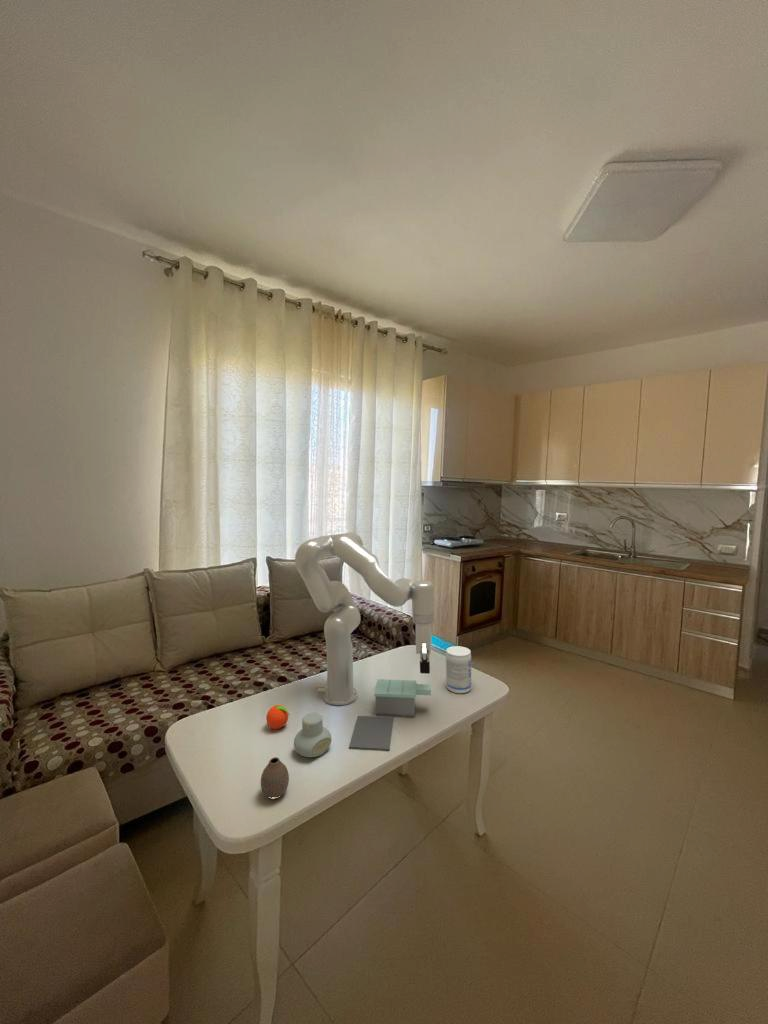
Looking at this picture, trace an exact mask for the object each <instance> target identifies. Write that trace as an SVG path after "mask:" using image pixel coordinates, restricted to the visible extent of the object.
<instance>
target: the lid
mask: <svg viewBox="0 0 768 1024" xmlns="http://www.w3.org/2000/svg"><path fill="white" fill-rule="evenodd" d="M375 684H376V685H375V688H374V692H373V697H376V696H377V697H401V698H415V699H416V698H417V696H432V694H431V693H432V692H431V691H432V690H431V689H432V688H431V686H432V685H431V684H429V683H427V684H426V683H424V684H423V683H417V680H409V679H387V678H386V679H385V678H384V679H382V678H377V680H376V683H375Z"/></svg>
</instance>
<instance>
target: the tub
mask: <svg viewBox="0 0 768 1024" xmlns="http://www.w3.org/2000/svg"><path fill="white" fill-rule="evenodd" d="M415 709H416V698H401V697H377V696H375V716H376V717H393V718H395V717H399V718H415V712H416V710H415Z"/></svg>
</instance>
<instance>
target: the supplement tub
mask: <svg viewBox="0 0 768 1024" xmlns="http://www.w3.org/2000/svg"><path fill="white" fill-rule="evenodd" d="M445 650H446V651H445V652H446V653H445V683H446V684H445V685H446V688H447V689H448V690H449V691H451V692H452V693H456V694H466V693H468V692H469V691H470V690H471V689H472V652H471V649H469V648H468V647H465V646H460V645H454V646H450V647H447V648H446V649H445Z"/></svg>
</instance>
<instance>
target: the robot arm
mask: <svg viewBox="0 0 768 1024" xmlns="http://www.w3.org/2000/svg"><path fill="white" fill-rule="evenodd" d="M363 545H364V544H363V539H362V537H361V536H360V535H358V534H357V533H355V532H344V533H338V534H337V533H336V534H330V535H323V536H319V537H314V538H311V539H307V540H305V541H304V542H303V543H301V544H300V545H299V546H298V548H297V550H296V553H295V554H294V555H295V556H294V563H295V567H296V570H297V572H298V574H299V575H300V576H301V579H302V580H303V583H304V584H305V587H306V589H307V591H308V592H309V595H310V596H311V598H312V600H313V603H314V605H315V606H316V608H317V610H319V611H320V612H322V613H328V612H331V611H333V613H331V615H330V616H328V618H327V619H326V620H325V622H324V627H323V632H324V638H325V639H324V640H325V646H326V647H325V648H326V681H327V682H325V683H316V685H315V689H316V690H317V692H318V693H323V695H322V696H323V700H324V702H326V703H327V704H329V705H332V706H345V705H349V704H351V703H353V702H355V701H356V699H358V690H357V689H356V688H355V687H354V653H353V652H354V651H353V650H354V649H353V642H352V639H351V634H352V633H353V631H355V630H356V629H357V627H359V624H360V623H361V619H362V618H361V613H360V610H359V609H358V607H357V605H356V604H357V603H356V602H355V600H354V598H353V596H352V595H351V594H352V593H350V590H349V589H348V587H347V586H346V585H345V584H344V583H343V582H341V581H338V580H330V579H329V577H328V574H327V573H326V572H327V571H325V569H324V568H323V567H322V566H321V565H320V564H319V562H320V561H323V560H325V559H328V558H333V557H337V558H338V559H340V560H341V561H342V562H344V563H345V564H346V565H347V566H349V567H350V568H351V569H352V570H354V571H355V572H356V573H357V574H359V575H360V576H361V577H362V579H363V580H364V582H365V584H366V585H367V586H368V588H369V589H370V591H372V592H373V593H374V594H375V596H377V597H379V598H380V599H381V600H382V601H384V602H385V603H386V604H387V605H390V606H392V607H394V608H395V607H397V608H399V607H402V606H403V605H405V604H406V603H407V602H408V601H410V600H411V602H412V603H411V604H412V606H411V607H412V608H411V609H412V610H411V611H412V612H411V613H412V624H415V653H416V655H419V673H420V674H426V675H427V674H430V673H431V668H430V667H431V666H430V665H431V664H430V654H431V651H432V625H433V624H435V622H436V619H435V617H436V613H435V611H436V610H435V586H434V583H433V582H432V581H430V580H423V579H421V580H414V579H411V578H410V579H409V578H399V579H397V580H396V581H393V580H392V579H391V578H389V577H388V576H387V574H385V573H384V571H383V570H382V569H381V567H380V563H379V559H378V557H377V556H376V555H375V554H374V553H373V552H371V551H369V550H368V549H367V548H365V547H364V546H363Z"/></svg>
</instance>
